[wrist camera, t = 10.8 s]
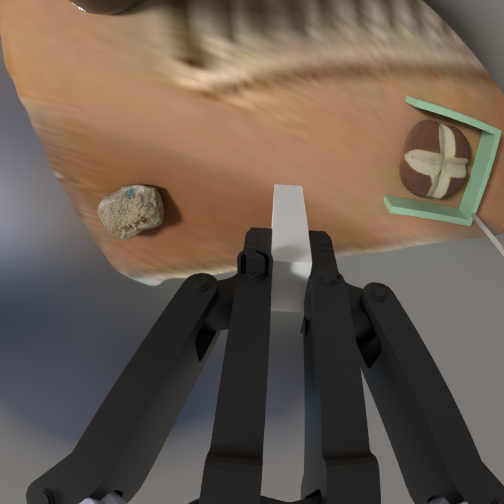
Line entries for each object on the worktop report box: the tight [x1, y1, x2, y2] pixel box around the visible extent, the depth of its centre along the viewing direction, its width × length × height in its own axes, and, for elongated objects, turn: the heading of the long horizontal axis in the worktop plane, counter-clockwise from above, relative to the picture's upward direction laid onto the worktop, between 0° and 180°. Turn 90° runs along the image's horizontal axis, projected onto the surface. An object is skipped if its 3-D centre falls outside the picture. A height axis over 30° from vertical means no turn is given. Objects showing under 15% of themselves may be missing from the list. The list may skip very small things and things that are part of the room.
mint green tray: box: [383, 95, 504, 257], centre depth 30 cm, size 16×15×16 cm
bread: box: [400, 120, 469, 199], centre depth 35 cm, size 11×11×5 cm
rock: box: [97, 184, 165, 240], centre depth 44 cm, size 8×11×4 cm
